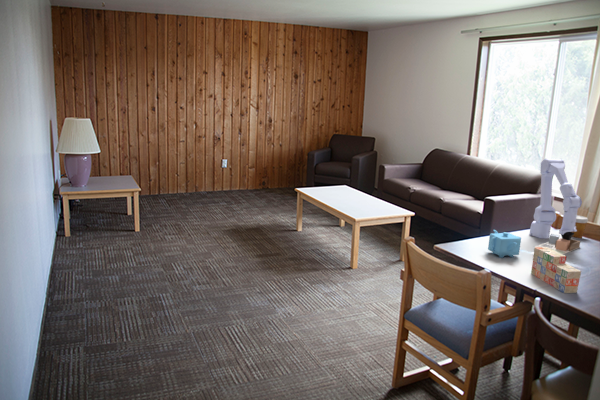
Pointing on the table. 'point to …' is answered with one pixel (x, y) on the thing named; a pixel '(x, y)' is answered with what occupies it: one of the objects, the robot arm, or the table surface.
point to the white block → (553, 238)
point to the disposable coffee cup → (580, 226)
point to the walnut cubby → (573, 244)
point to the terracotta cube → (562, 244)
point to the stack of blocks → (555, 270)
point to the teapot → (504, 244)
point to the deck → (554, 248)
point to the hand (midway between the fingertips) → (565, 245)
